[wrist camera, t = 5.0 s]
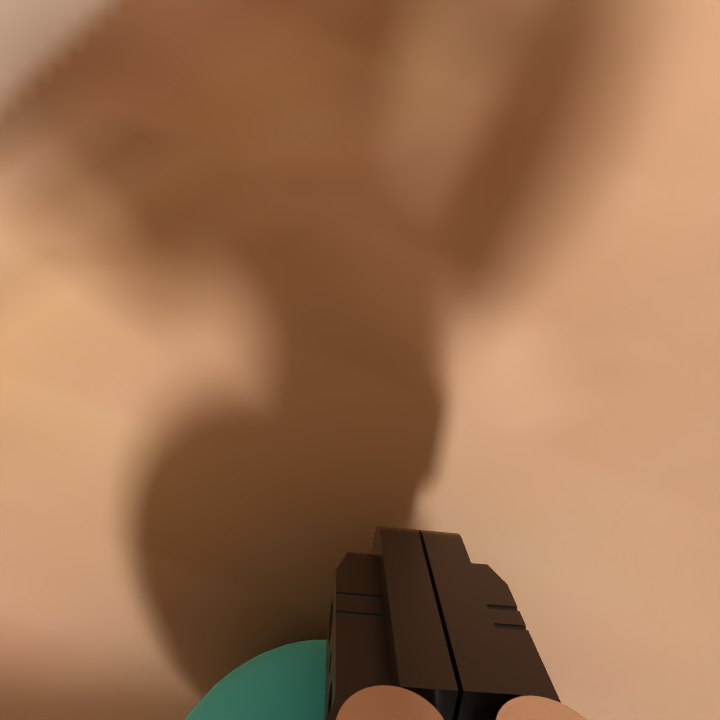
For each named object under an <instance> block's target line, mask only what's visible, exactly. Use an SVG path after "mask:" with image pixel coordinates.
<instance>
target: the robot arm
mask: <svg viewBox="0 0 720 720" xmlns="http://www.w3.org/2000/svg"><path fill="white" fill-rule="evenodd" d="M325 689H326V690H325V717H324V720H586V719H585V718H584V717H583V716H581V715H580V714H579V713H577V712H576V711H574V710H573V709H571V708H569V707H568V706H566V705H564V704H562V703H561V702H560V700H559V698H558V695H557V693H556V691H555V689H554V686H553V684H552V682H551V680H550V678H549V675H548V673H547V671H546V669H545V667H544V664H543V662H542V660H541V658H540V656H539V653H538V651H537V649H536V647H535V645H534V642H533V640H532V638H531V636H530V634H529V631H528V630H526V625H525V623H524V620H523V618H522V616H521V614H520V612H519V611H517V605H516V603H515V601H514V598H513V596H512V594H511V592H510V590H509V587H508V585H507V584H506V583H505V582H504V581H503V580H502V579H501V578H500V577H499V576H498V575H497V574H496V573H495V572H494V571H493V570H492V569H491V568H490V567H489V566H488V565H486V564H474V563H471V562H470V559H469V556H468V554H467V551H466V548H465V546H464V543H463V541H462V538H461V536H460V535H459V534H456V533H445V532H434V531H423V530H419V531H417V530H410V529H399V528H388V527H377V529H376V532H375V538H374V544H373V551H372V555H369V554H358V553H347V555H346V556H345V558H344V559H343V560H342V562H341V563H340V565H339V566H338V568H337V569H336V574H335V582H334V589H333V597H332V604H331V612H330V620H329V627H328V635H327V642H326V679H325Z"/></svg>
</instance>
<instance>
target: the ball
mask: <svg viewBox="0 0 720 720" xmlns="http://www.w3.org/2000/svg"><path fill="white" fill-rule="evenodd" d="M326 642H327V640H306V641H299V642H294V643H290V644H286V645H283V646H280V647H277V648H274V649H272V650H269V651H266V652H264V653H262V654H260V655H258V656H255V657H253V658H251V659H250V660H248V661H247V662H245V663H243V664H242V665H240V666H239V667H237V668H236V669H234V670H233V671H232V672H230V673H229V674H227V675H226V676H225V677H224V678H223V679H221V680H220V681H219V682H218V683H217V684H215V685H214V686H213V687H212V688H211V689H210V690H209V692H208V693H207V694H206V695H205V696H204V697H203V698H202V699H201V700H200V701H199V702H198V703H197V704H196V706H195V707H194V708H193V709H192V710H191V711H190V713H189V714H188V715H187V717H186V718H185V720H324V717H325V690H326V689H325V679H326Z"/></svg>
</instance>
